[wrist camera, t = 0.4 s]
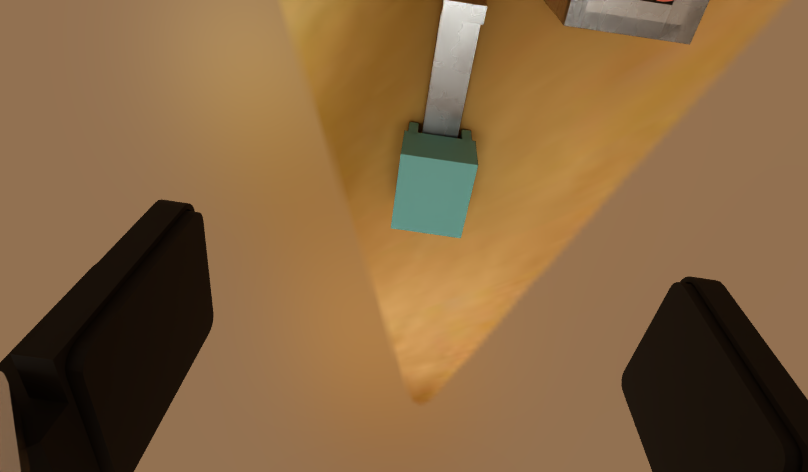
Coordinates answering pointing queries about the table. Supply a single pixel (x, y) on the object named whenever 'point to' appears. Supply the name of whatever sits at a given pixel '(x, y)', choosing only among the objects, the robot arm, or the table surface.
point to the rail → (452, 65)
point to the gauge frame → (634, 17)
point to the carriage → (434, 182)
